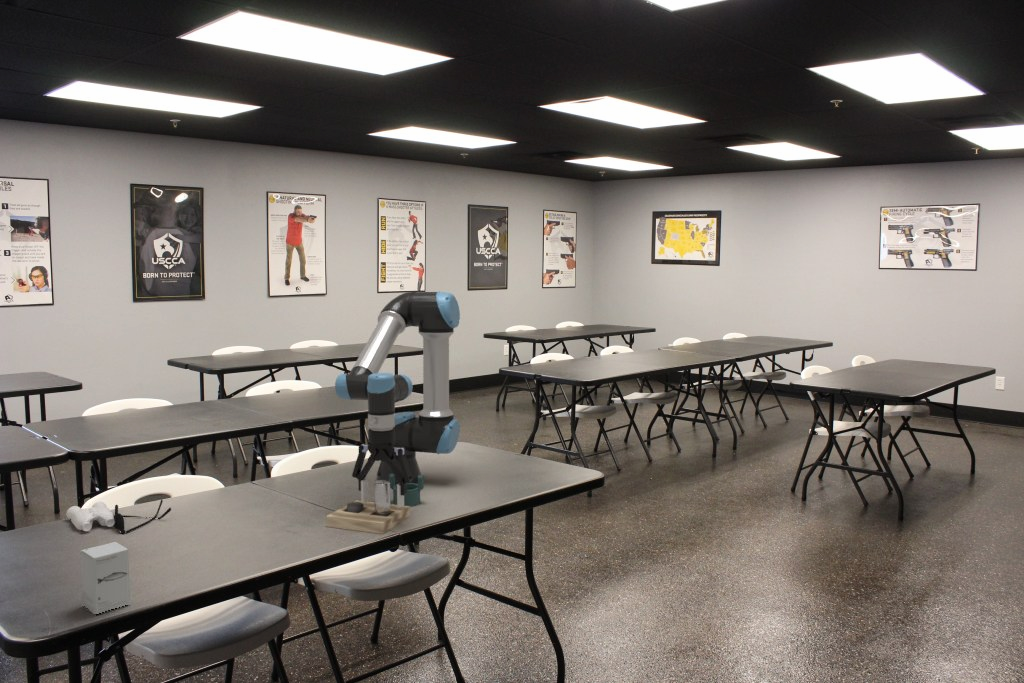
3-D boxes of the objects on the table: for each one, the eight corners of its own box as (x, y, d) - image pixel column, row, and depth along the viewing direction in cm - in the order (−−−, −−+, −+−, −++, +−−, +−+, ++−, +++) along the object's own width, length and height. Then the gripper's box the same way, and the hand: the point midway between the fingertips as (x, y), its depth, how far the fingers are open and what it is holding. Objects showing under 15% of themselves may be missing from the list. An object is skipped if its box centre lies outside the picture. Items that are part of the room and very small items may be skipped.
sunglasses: (174, 527, 217) (174, 509, 217) (117, 536, 209) (116, 518, 209) (164, 511, 231) (164, 494, 231) (111, 519, 223) (110, 502, 223)
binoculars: (106, 514, 228) (105, 498, 228) (120, 528, 216) (119, 512, 215) (66, 521, 221) (65, 505, 221) (78, 536, 209) (77, 520, 209)
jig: (356, 509, 232) (355, 495, 232) (409, 516, 226) (409, 501, 226) (326, 526, 217) (326, 511, 217) (383, 534, 211) (382, 518, 211)
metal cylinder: (379, 519, 223) (379, 479, 222) (393, 521, 221) (392, 480, 220) (372, 524, 219) (371, 483, 218) (385, 526, 217) (385, 484, 216)
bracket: (425, 504, 238) (425, 475, 237) (397, 508, 233) (397, 479, 233) (414, 497, 246) (414, 469, 245) (387, 501, 241) (386, 473, 240)
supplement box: (95, 616, 161) (92, 558, 160) (82, 606, 166) (79, 549, 164) (131, 605, 166) (129, 548, 165) (117, 595, 171) (115, 540, 170)
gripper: (338, 427, 218) (339, 503, 220) (412, 433, 210) (413, 512, 212) (352, 422, 225) (353, 496, 227) (424, 428, 217) (425, 504, 219)
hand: (382, 504), depth 220 cm, fingers open, 11 cm apart
